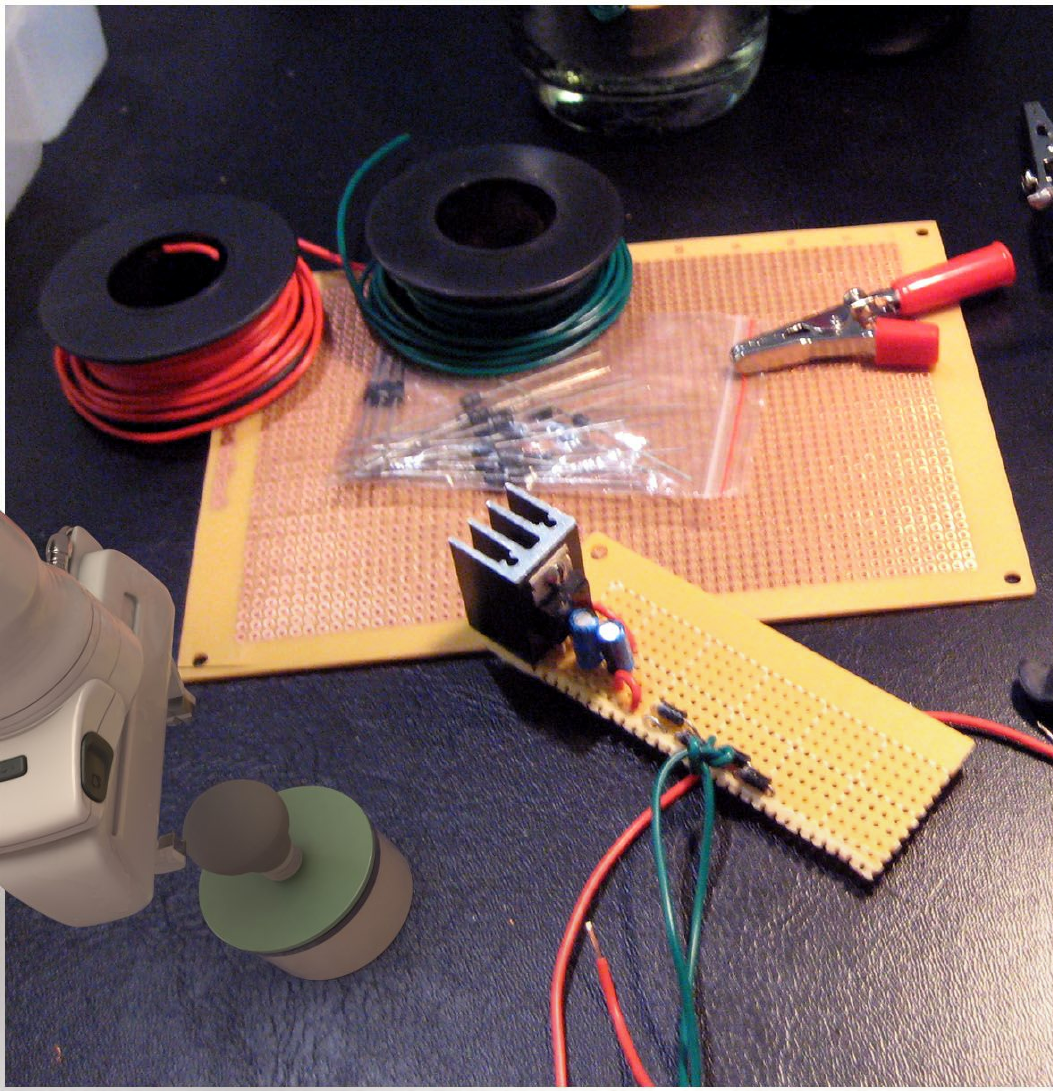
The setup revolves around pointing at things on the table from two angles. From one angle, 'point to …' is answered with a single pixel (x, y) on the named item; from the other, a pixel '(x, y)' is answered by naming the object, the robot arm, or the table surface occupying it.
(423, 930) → the table surface
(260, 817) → the light bulb
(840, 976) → the table surface
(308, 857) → the pot
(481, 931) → the table surface
